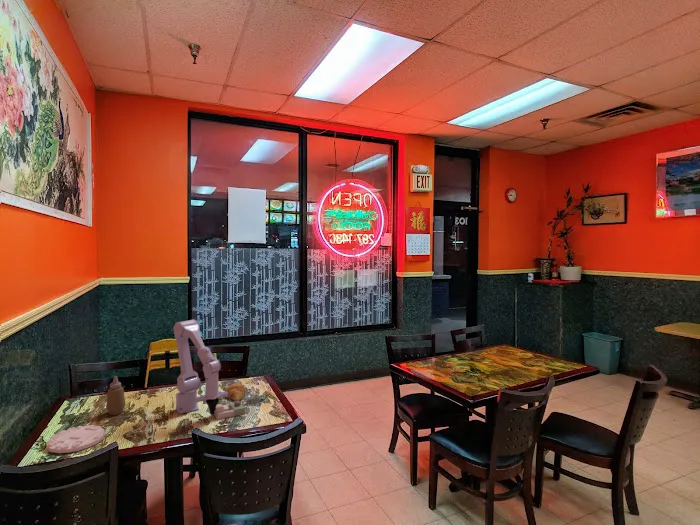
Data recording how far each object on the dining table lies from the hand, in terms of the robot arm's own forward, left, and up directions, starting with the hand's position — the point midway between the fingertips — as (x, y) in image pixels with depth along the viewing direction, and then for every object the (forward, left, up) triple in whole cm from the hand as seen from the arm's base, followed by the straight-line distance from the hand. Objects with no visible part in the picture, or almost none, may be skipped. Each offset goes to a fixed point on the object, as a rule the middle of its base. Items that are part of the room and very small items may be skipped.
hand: (212, 414), depth 192 cm
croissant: (+17, +21, -2) cm, 27 cm away
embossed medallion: (-54, +4, -2) cm, 54 cm away
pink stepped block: (+4, +1, -1) cm, 5 cm away
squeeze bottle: (-39, +28, -1) cm, 48 cm away
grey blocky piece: (+8, 0, -1) cm, 8 cm away
